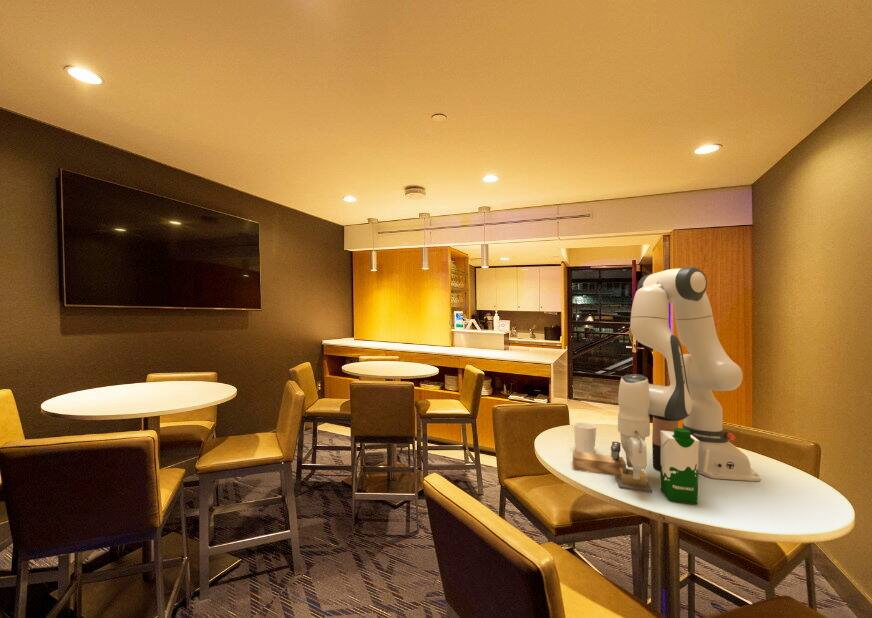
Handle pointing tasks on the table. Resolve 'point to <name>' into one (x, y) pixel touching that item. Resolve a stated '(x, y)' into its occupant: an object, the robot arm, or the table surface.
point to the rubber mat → (631, 487)
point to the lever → (615, 449)
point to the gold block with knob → (628, 479)
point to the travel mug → (658, 426)
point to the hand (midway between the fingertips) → (632, 472)
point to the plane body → (597, 463)
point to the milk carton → (679, 466)
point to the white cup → (584, 437)
